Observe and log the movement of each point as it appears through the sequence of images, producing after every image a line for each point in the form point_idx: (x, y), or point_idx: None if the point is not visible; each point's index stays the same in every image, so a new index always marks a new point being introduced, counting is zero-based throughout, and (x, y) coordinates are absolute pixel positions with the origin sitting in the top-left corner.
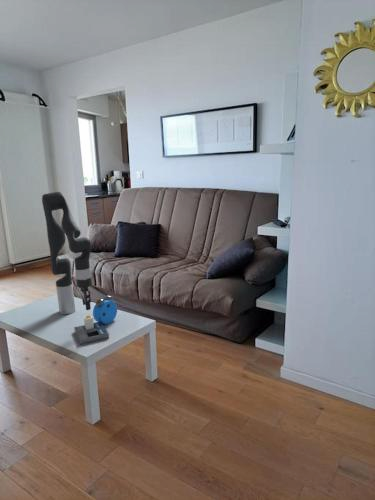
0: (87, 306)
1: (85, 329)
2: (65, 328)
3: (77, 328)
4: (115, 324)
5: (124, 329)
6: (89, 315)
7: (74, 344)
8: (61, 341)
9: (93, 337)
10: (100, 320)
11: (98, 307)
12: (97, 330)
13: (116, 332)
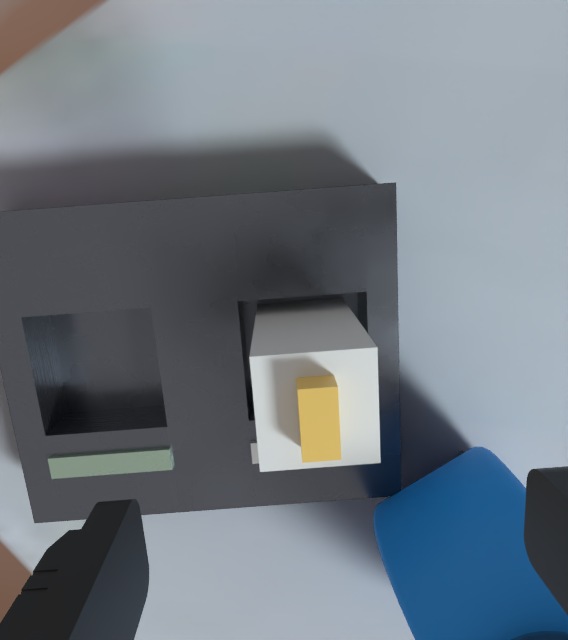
0: (18, 609)
1: (303, 308)
2: (562, 86)
3: (338, 219)
4: (365, 584)
5: (212, 632)
6: (312, 447)
7: (72, 152)
8: (212, 9)
9: (3, 367)
10: (381, 505)
11: (494, 634)
12: (165, 430)
13: (180, 564)
